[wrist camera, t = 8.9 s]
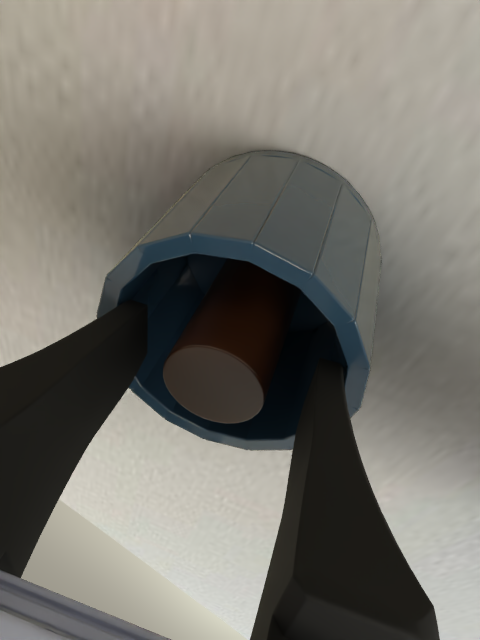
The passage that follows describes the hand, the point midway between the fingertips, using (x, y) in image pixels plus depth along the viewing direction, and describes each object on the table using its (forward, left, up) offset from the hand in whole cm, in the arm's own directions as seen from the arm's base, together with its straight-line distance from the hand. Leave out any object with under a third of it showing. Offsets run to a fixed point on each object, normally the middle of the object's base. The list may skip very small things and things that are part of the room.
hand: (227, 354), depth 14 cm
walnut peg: (0, 0, -6) cm, 6 cm away
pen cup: (0, 0, -6) cm, 6 cm away
